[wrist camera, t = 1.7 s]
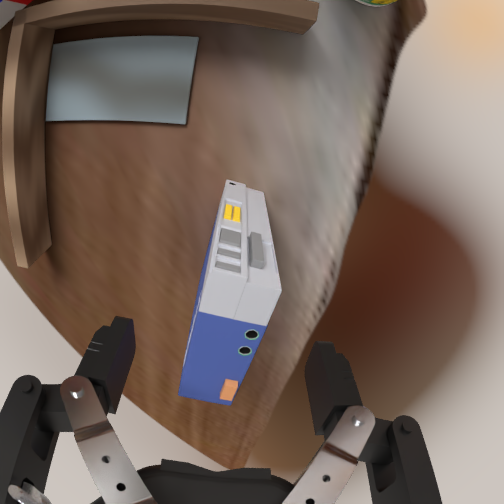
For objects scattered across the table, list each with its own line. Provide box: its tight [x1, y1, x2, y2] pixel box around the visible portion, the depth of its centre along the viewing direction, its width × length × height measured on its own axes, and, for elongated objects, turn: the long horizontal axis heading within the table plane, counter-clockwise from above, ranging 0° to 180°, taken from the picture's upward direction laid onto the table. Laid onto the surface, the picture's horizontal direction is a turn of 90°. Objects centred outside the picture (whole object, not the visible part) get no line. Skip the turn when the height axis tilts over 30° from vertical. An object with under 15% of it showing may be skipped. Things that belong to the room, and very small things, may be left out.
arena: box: [2, 0, 319, 268], centre depth 17 cm, size 19×19×4 cm
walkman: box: [178, 179, 282, 405], centre depth 18 cm, size 8×3×12 cm, turn 163°
